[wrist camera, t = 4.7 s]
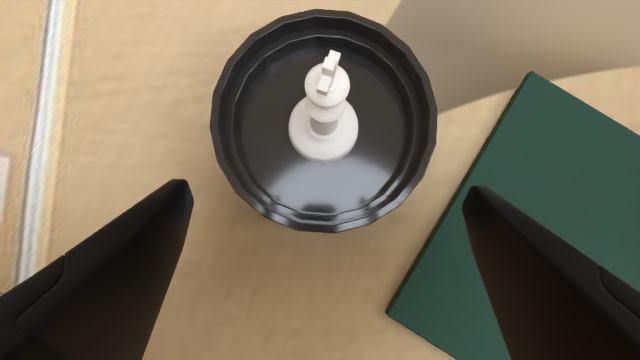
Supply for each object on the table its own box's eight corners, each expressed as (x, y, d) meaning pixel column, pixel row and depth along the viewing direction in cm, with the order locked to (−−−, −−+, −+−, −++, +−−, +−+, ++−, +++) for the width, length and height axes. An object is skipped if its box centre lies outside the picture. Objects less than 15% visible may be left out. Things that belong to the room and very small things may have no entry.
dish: (335, 269, 21) (338, 281, 18) (184, 140, 21) (163, 130, 18) (459, 118, 22) (482, 105, 19) (311, -2, 22) (311, -34, 19)
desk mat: (587, 441, 20) (595, 448, 20) (385, 312, 21) (387, 315, 20) (719, 190, 21) (730, 189, 21) (526, 73, 22) (532, 70, 21)
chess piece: (278, 149, 21) (244, 103, 11) (302, 85, 21) (289, -17, 11) (345, 172, 21) (371, 146, 11) (367, 107, 21) (412, 24, 11)
